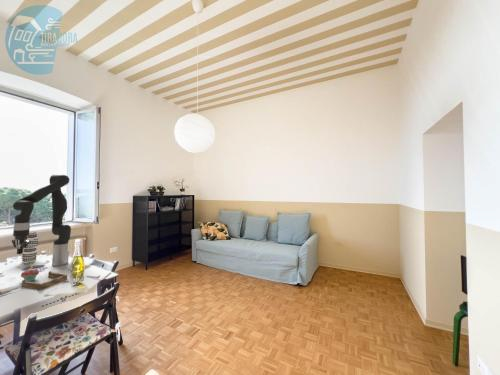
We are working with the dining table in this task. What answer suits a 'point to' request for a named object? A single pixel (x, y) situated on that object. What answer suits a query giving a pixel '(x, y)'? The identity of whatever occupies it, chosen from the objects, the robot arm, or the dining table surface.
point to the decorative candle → (30, 248)
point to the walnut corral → (40, 286)
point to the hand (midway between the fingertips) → (19, 253)
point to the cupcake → (30, 274)
